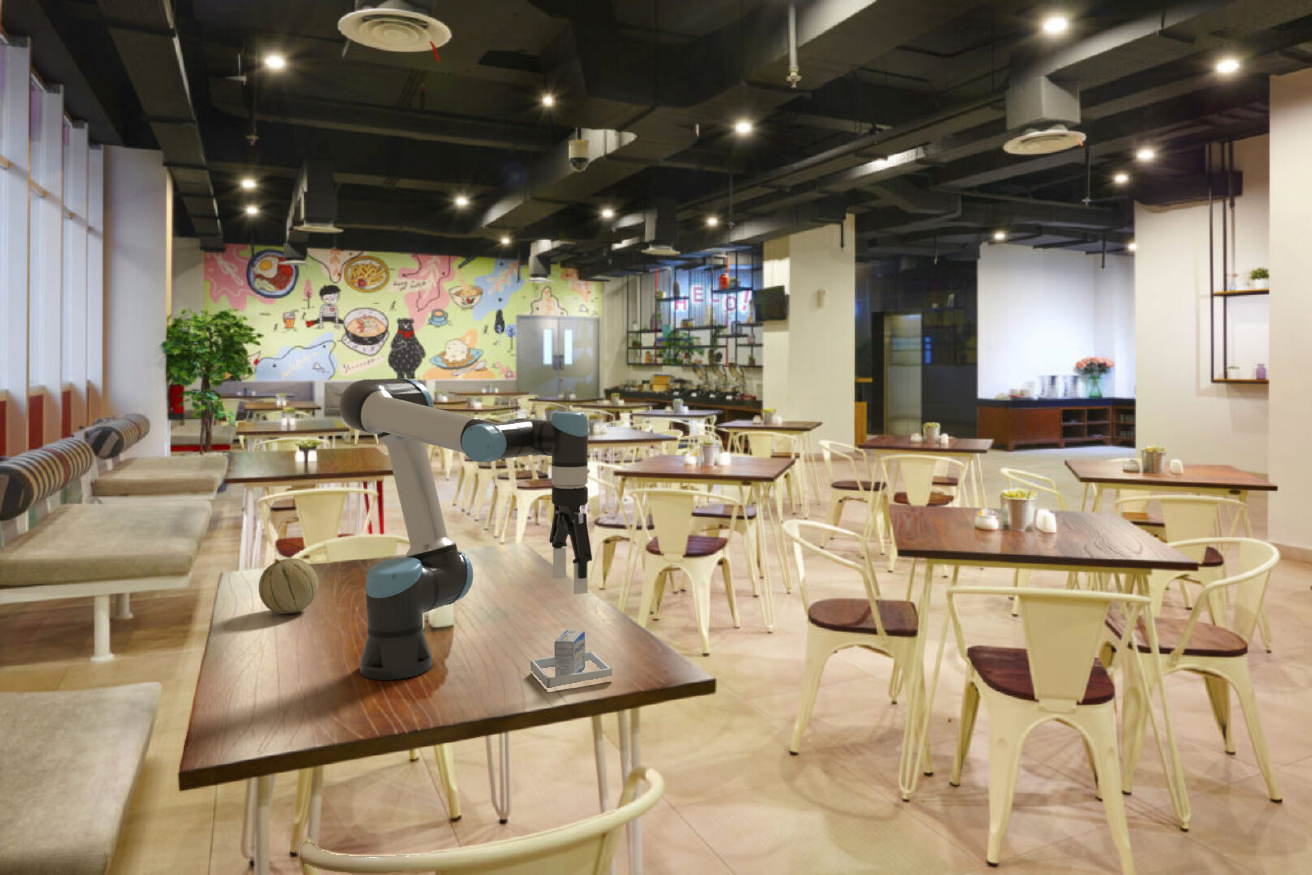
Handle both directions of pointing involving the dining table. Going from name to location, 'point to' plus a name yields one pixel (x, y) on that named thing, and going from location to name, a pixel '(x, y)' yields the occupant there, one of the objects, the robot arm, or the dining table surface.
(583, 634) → the medicine box
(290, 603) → the cantaloupe
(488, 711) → the dining table surface
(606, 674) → the walled tray
